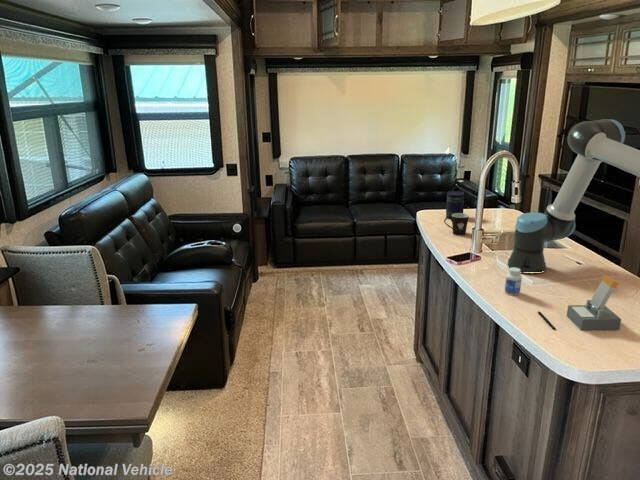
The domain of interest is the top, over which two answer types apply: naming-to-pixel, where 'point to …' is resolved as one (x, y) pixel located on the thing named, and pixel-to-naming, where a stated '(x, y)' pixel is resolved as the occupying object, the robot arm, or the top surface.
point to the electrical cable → (546, 320)
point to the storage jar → (454, 203)
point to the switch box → (593, 318)
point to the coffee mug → (459, 223)
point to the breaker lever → (602, 293)
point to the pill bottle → (513, 281)
